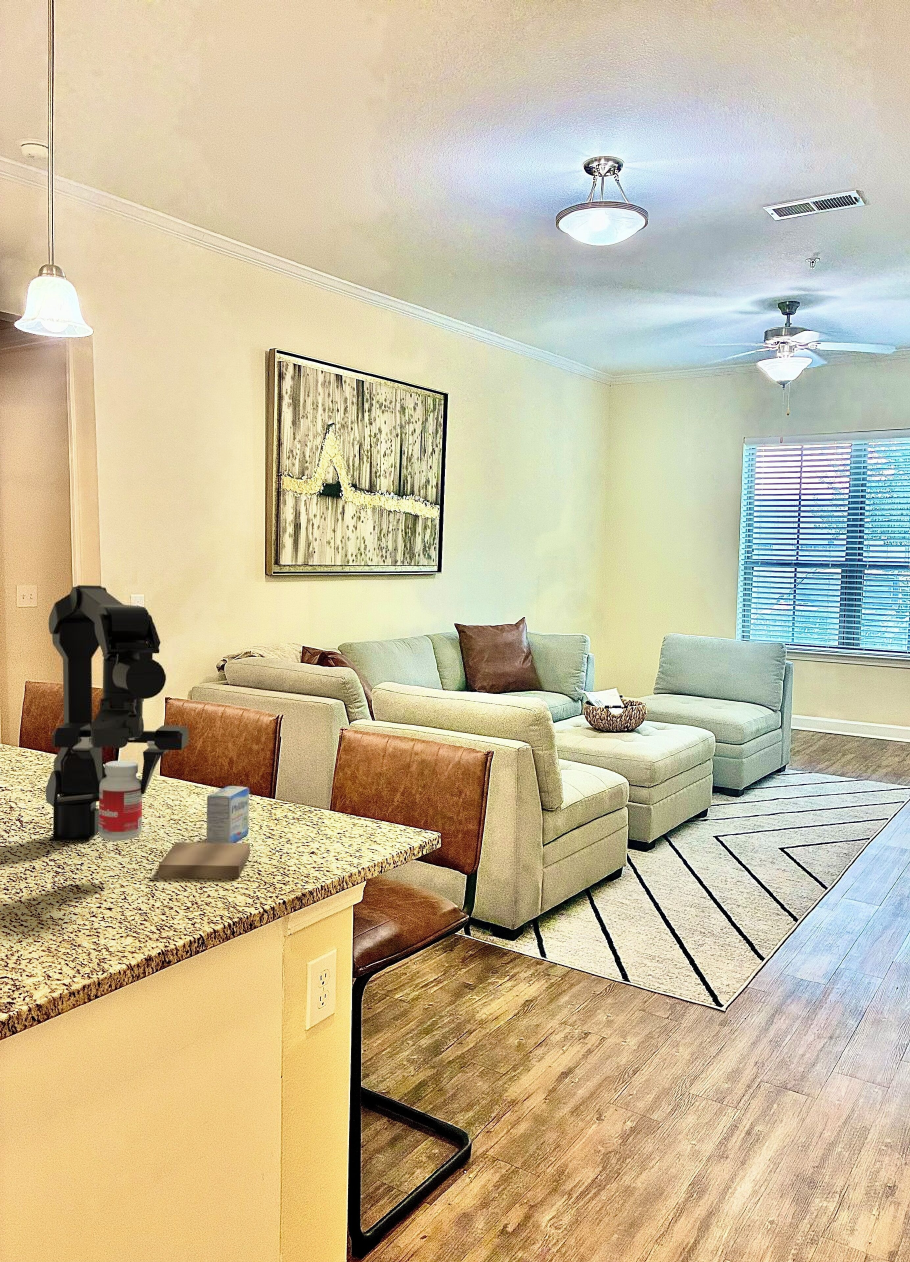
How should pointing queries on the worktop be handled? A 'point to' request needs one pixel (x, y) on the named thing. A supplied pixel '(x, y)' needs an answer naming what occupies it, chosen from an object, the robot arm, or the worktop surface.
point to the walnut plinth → (205, 860)
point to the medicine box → (228, 815)
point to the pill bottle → (120, 802)
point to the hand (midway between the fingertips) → (121, 793)
